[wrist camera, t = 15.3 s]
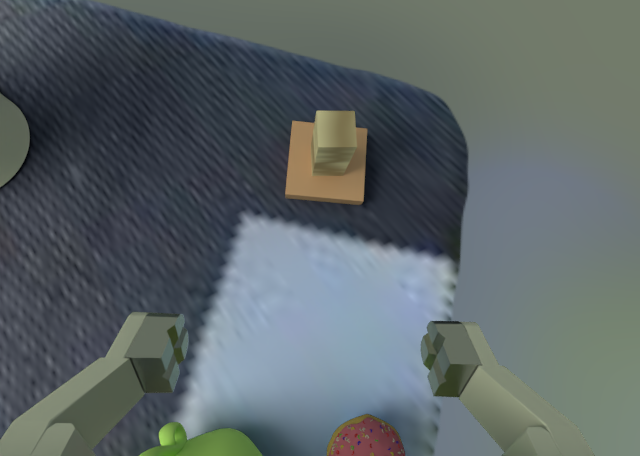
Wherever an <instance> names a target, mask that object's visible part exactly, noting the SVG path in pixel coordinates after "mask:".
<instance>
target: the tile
mask: <svg viewBox="0 0 640 456" xmlns="http://www.w3.org/2000/svg"><path fill="white" fill-rule="evenodd" d="M313 129H314V123H309V122H300V121H292V130H291V140H290V151H289V161H288V171H287V182H286V192H285V196H286V198H289V199H300V200H311V201H322V202H333V203H344V204H355V205H361V204H362V203H363V200H364V182H365V163H366V144H367V129H365V128H356V139H357V148H356V150H355V152H354V154H353V156H352V158H351V160H350V162H349V164H348V166H347V168H346V170H345V172H344V174H343V176H312V166H311V142H312V136H313Z"/></svg>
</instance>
